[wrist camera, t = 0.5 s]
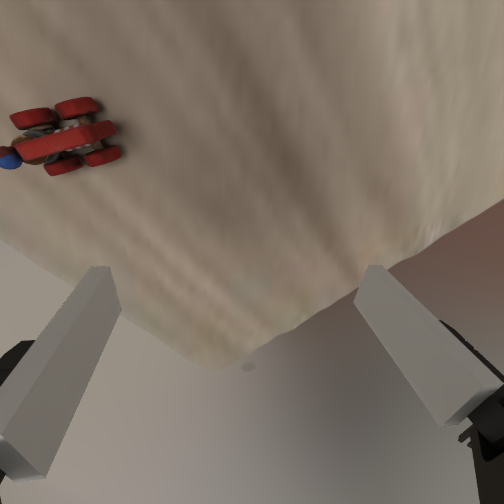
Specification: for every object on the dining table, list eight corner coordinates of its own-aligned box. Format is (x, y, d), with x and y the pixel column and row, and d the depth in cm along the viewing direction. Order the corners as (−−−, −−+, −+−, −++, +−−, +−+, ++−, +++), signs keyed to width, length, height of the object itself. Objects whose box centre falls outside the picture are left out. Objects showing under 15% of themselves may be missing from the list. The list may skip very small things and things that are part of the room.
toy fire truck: (9, 118, 29) (-81, 123, 20) (109, 93, 29) (63, 87, 20) (48, 175, 32) (-15, 201, 24) (136, 153, 32) (107, 170, 24)
